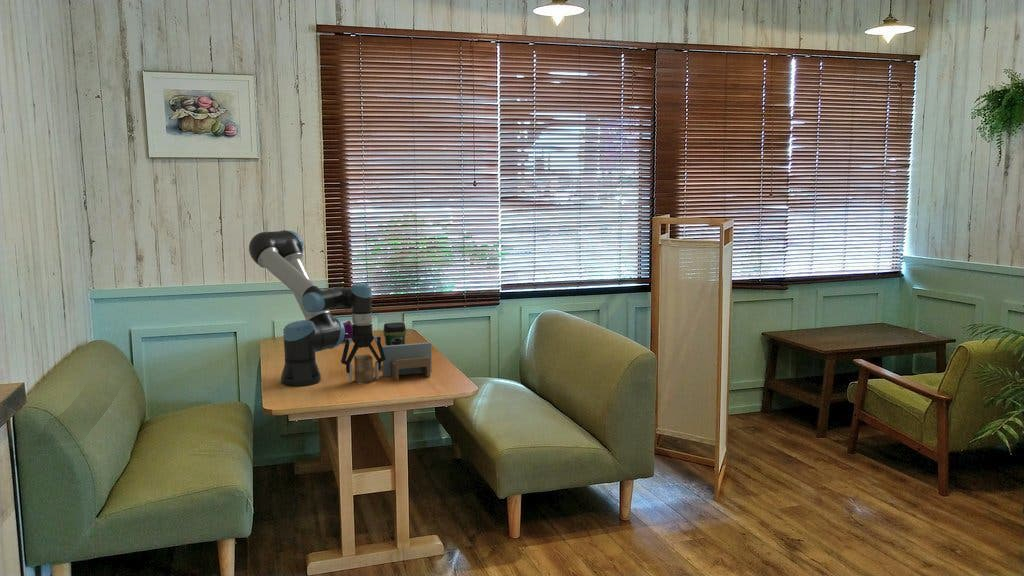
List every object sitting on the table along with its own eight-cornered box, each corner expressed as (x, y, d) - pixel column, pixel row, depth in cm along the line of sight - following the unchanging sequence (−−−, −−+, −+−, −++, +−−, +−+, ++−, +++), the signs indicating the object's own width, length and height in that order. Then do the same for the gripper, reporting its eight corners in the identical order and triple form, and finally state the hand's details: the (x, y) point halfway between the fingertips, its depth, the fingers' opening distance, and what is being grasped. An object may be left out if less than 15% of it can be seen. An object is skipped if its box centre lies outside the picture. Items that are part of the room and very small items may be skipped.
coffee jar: (405, 362, 340) (404, 320, 337) (408, 366, 332) (407, 323, 330) (382, 364, 337) (381, 321, 334) (386, 368, 329) (384, 324, 327)
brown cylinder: (357, 384, 304) (357, 358, 302) (354, 380, 309) (354, 355, 308) (373, 382, 306) (372, 357, 304) (370, 378, 311) (369, 354, 310)
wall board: (388, 381, 308) (387, 351, 306) (382, 375, 317) (381, 346, 316) (437, 376, 315) (437, 347, 313) (430, 370, 325) (429, 342, 323)
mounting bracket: (323, 355, 381) (357, 338, 382) (315, 340, 379) (349, 323, 381) (325, 351, 390) (357, 334, 392) (317, 336, 388) (349, 320, 390)
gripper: (334, 327, 297) (336, 384, 300) (392, 323, 305) (394, 379, 308) (331, 324, 304) (333, 380, 307) (388, 320, 312) (389, 374, 315)
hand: (363, 379), depth 307 cm, fingers open, 10 cm apart
